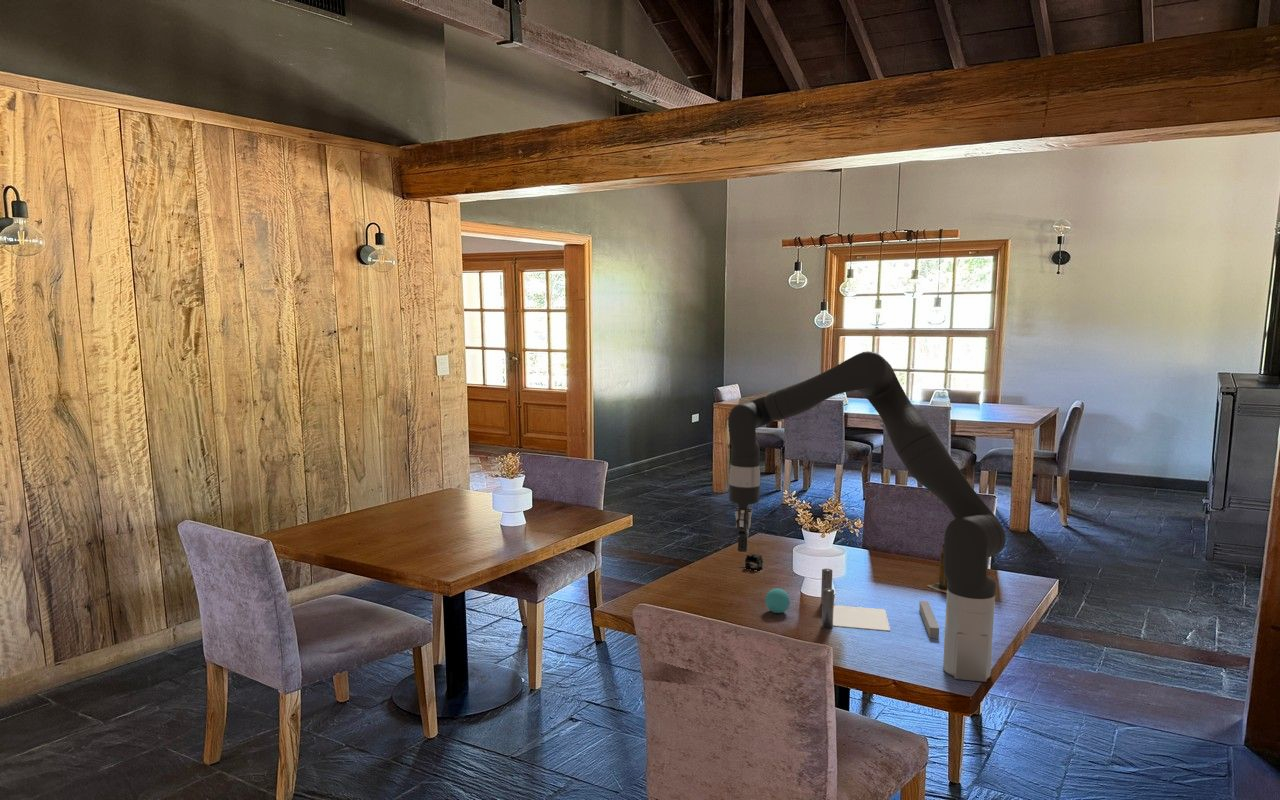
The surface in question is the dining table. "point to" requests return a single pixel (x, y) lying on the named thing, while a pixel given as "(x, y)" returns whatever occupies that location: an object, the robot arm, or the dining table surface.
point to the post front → (827, 608)
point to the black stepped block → (754, 559)
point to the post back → (826, 581)
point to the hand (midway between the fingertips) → (742, 550)
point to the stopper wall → (929, 619)
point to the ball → (777, 600)
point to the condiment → (941, 576)
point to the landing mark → (860, 618)
